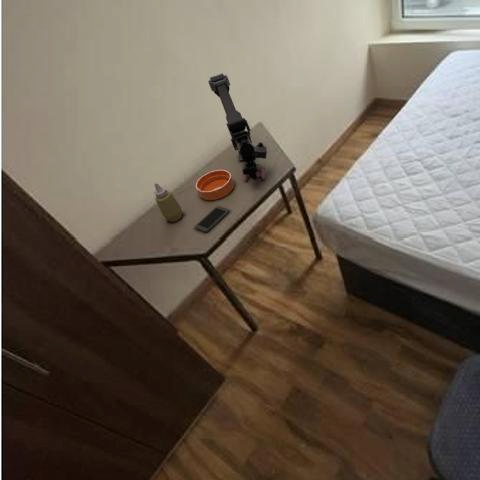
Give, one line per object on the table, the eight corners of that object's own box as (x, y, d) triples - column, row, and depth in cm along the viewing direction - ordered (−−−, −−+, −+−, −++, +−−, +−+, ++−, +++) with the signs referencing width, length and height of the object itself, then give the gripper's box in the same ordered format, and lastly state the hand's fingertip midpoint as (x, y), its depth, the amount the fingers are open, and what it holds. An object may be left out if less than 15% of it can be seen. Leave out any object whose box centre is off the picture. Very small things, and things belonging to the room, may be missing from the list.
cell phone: (194, 228, 161) (193, 226, 161) (217, 207, 169) (217, 205, 168) (206, 233, 158) (206, 231, 157) (230, 211, 165) (229, 209, 165)
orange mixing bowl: (201, 183, 185) (197, 175, 181) (234, 175, 184) (230, 166, 181) (199, 204, 173) (194, 195, 170) (234, 195, 173) (230, 186, 169)
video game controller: (267, 177, 180) (265, 162, 178) (264, 179, 176) (261, 163, 174) (247, 180, 182) (244, 164, 180) (243, 181, 178) (240, 166, 176)
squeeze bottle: (168, 226, 166) (147, 192, 153) (164, 216, 171) (144, 183, 159) (186, 218, 168) (167, 184, 155) (182, 208, 173) (163, 175, 161)
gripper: (263, 152, 161) (273, 182, 172) (261, 130, 175) (271, 160, 186) (237, 158, 162) (249, 189, 172) (237, 136, 175) (248, 166, 186)
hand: (255, 175), depth 179 cm, fingers closed on video game controller, 6 cm apart
